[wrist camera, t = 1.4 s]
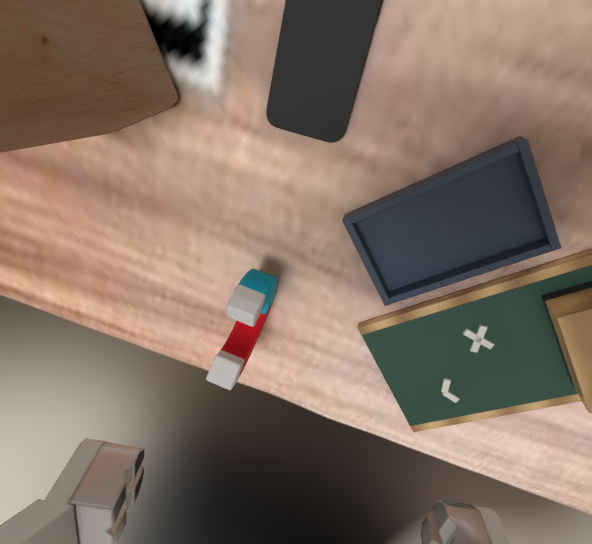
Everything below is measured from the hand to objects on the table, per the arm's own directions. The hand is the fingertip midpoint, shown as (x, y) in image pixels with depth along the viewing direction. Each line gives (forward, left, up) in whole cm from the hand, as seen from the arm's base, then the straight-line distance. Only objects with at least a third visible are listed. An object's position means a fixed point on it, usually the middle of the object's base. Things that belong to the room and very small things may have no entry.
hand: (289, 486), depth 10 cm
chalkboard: (-6, +21, -30) cm, 36 cm away
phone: (-3, -13, -30) cm, 33 cm away
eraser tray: (-6, +6, -30) cm, 31 cm away
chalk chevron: (0, +23, -29) cm, 37 cm away
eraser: (-14, +21, -29) cm, 38 cm away
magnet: (+15, +6, -30) cm, 34 cm away
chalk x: (-5, +18, -29) cm, 34 cm away
